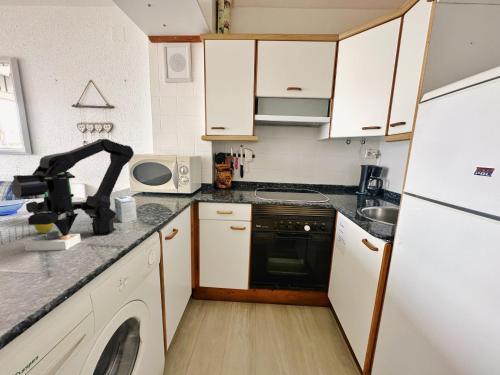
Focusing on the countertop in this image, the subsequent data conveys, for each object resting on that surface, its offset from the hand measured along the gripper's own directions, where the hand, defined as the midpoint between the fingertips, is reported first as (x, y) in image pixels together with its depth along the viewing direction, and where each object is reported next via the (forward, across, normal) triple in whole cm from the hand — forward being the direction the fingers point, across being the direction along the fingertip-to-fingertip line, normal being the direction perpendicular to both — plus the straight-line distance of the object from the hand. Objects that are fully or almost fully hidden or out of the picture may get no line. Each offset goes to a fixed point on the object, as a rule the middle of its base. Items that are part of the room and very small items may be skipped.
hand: (65, 235), depth 74 cm
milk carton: (+4, -29, -24) cm, 38 cm away
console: (+4, 0, -4) cm, 6 cm away
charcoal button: (+2, 0, -4) cm, 4 cm away
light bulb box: (+4, -30, +6) cm, 31 cm away
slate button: (+3, 0, -8) cm, 9 cm away
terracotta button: (+3, 0, 0) cm, 3 cm away
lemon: (+4, -12, -17) cm, 21 cm away
